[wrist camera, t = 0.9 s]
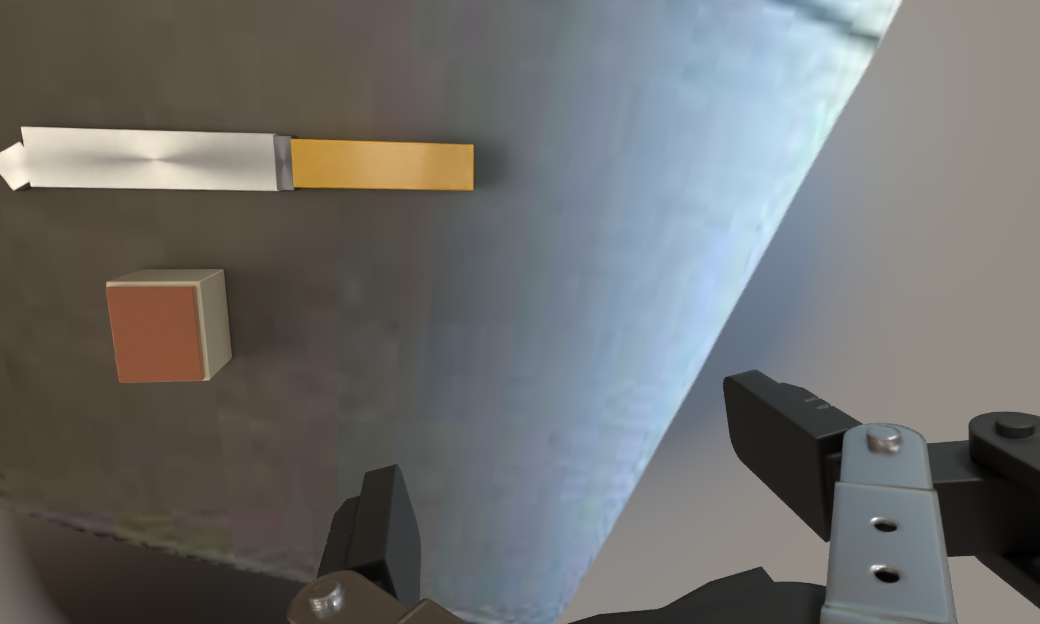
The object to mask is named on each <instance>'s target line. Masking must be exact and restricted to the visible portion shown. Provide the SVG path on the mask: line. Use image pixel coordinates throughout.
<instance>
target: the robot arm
mask: <svg viewBox="0 0 1040 624" xmlns="http://www.w3.org/2000/svg"><path fill="white" fill-rule="evenodd" d="M723 390H724V397H725V405H726V411H727V419H728V426H729V433H730V439H731V443H732V445H733V448H734V450H735V452H736V454H737V456H738V458H739V459H740V460H741V461H742V462H743V463H744V464H745V465H746V466H747V467H748V468H749V469H750V470H751V471H752V472H753V473H754V474H755V475H756V476H757V477H758V478H759V479H760V480H761V481H763V483H765V484H766V485H767V486H768V487H769V488H770V489H771V490H772V491H773V492H774V493H775V494H776V495H777V496H778V497H779V498H780V499H781V500H782V501H783V502H784V503H785V504H786V505H788V507H789V508H791V509H792V510H793V511H794V512H795V513H796V514H797V515H798V516H799V517H800V518H801V519H802V520H803V521H804V522H805V523H806V524H807V525H808V526H809V527H810V528H811V529H812V530H813V531H815V533H817V535H819V536H820V537H821V538H822V539H823V540H824V541H825V542H828V541H830V550H829V562H828V573H827V586H822V585H817V584H811V583H802V582H774V581H773V580H772V579H771V578H770V576H769V575H768V574H767V573H766V571H765V570H764V569H763V568H762V567H758V568H754V569H752V570H748V571H744V572H741V573H738V574H734V575H731V576H728V577H724V578H721V579H717V580H714V581H710V582H708V583H706V584H705V585H703V586H701V587H699V588H698V589H696V590H694V591H692V592H690V593H688V594H687V595H685V596H683V597H681V598H679V599H678V600H676V601H674V602H672V603H670V604H669V605H667V606H665V607H663V608H659V609H654V610H643V611H631V612H620V613H609V614H599V615H595V616H592V617H589V618H585V619H582V620H579V621H575V622H572V623H568V624H958V623H957V617H956V611H955V604H954V598H953V591H952V585H951V578H950V572H949V566H948V559H947V557H954V556H975V557H976V558H977V559H978V560H979V561H980V562H981V563H983V564H984V565H985V566H986V567H988V568H989V569H990V570H991V571H993V572H994V573H995V574H997V575H998V576H999V577H1000V578H1002V579H1003V580H1004V581H1005V582H1007V583H1008V584H1009V585H1010V586H1012V587H1013V588H1014V589H1015V590H1017V591H1018V592H1019V593H1020V594H1022V595H1023V596H1024V597H1026V598H1027V599H1028V600H1029V601H1031V602H1032V603H1033V604H1034V605H1035V606H1037V607H1038V608H1039V609H1040V417H1039V416H1036V415H1031V414H1026V413H1019V412H991V413H986V414H982V415H979V416H977V417H975V418H973V419H972V420H971V421H970V422H969V440H967V441H954V442H942V443H926V440H925V438H924V437H923V436H922V435H921V434H920V433H918V432H917V431H915V430H913V429H911V428H908V427H904V426H901V425H897V424H890V423H869V424H862V423H860V422H859V421H857V420H855V419H854V418H852V417H850V416H849V415H847V414H846V413H844V412H842V411H841V410H839V409H837V408H836V407H834V406H830V404H829V403H827V402H826V401H824V400H822V399H819V398H818V397H817V396H816V395H814V394H812V393H811V392H809V391H808V390H806V389H804V388H801V387H797V386H794V385H790V384H786V383H777V382H776V381H774V380H772V379H771V378H769V377H767V376H766V375H765V374H763V373H761V372H759V371H758V370H751V371H747V372H743V373H739V374H736V375H732V376H728V377H726V378H725V379H724V382H723ZM330 531H331V532H329V535H328V539H327V544H326V546H325V550H324V553H323V557H322V560H321V564H320V568H319V571H318V575H317V578H316V580H314V581H312V582H311V583H309V584H308V585H307V586H305V587H304V588H303V589H302V590H301V591H300V592H299V593H298V594H297V595H296V596H295V597H294V599H293V600H292V601H291V603H290V605H289V608H288V611H287V616H288V621H286V622H285V623H283V624H468V623H466V622H465V621H463V620H462V619H460V618H458V617H457V616H455V615H454V614H452V613H451V612H449V611H448V610H446V609H445V608H443V607H441V606H440V605H438V604H437V603H435V602H434V601H432V600H430V599H422V600H421V601H420V567H421V543H420V535H419V530H418V526H417V522H416V518H415V515H414V512H413V509H412V505H411V502H410V499H409V495H408V492H407V489H406V486H405V482H404V479H403V476H402V473H401V470H400V468H399V466H398V464H395V465H391V466H388V467H384V468H380V469H376V470H373V471H369V472H366V473H365V476H364V481H363V486H362V490H361V495H360V496H357V497H353V498H350V499H347V500H346V501H345V502H344V503H343V505H342V506H341V507H340V508H339V509H338V511H337V512H336V513H335V514H334V517H333V521H332V524H331V528H330Z"/></svg>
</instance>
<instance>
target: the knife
mask: <svg viewBox="0 0 1040 624" xmlns="http://www.w3.org/2000/svg"><path fill="white" fill-rule="evenodd" d="M21 131H22V137H23V141H18V142H16V143H15V144H13V145H11V146H9V147H8V148H6V149H4V150H2V151H1V152H0V175H1V176H2V177H3V178H4V180H5V181H6V182H7V184H8V185H9V186H10V187H11V189H12V190H13V191H23V190H24V189H26V188H28V187H30V186H31V187H43V188H102V189H160V190H218V191H277V192H280V191H296V190H300V189H301V188H348V189H404V190H459V191H473V190H474V144H450V143H416V142H381V141H347V140H312V139H298V137H297V136H292V135H279V134H273V133H240V132H207V131H174V130H140V129H107V128H74V127H41V126H21Z"/></svg>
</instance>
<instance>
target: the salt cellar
mask: <svg viewBox="0 0 1040 624" xmlns="http://www.w3.org/2000/svg"><path fill="white" fill-rule="evenodd" d="M106 285H107V287H106V294H107V301H108V308H109V315H110V322H111V329H112V336H113V343H114V350H115V357H116V364H117V371H118V378H119V382H120V383H131V382H171V381H209V380H211V379H212V378H213V377H214V376H215V375H216V374H217V373H218V372H219V371H220V370H221V369H222V368H223V367H224V366H225V365H226V364H227V363H228V362H229V361H230V360H231V359H232V350H231V339H230V329H229V318H228V307H227V297H226V286H225V275H224V269H140V270H138V271H135V272H132V273H130V274H127V275H124V276H121V277H119V278H116V279H113V280H111V281H108V282H107V283H106Z"/></svg>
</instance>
